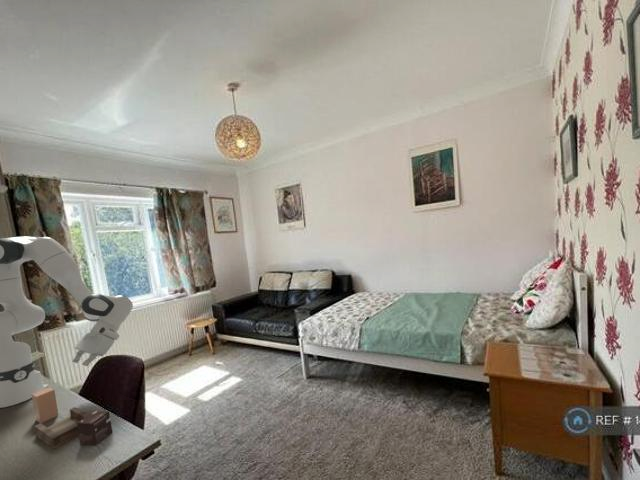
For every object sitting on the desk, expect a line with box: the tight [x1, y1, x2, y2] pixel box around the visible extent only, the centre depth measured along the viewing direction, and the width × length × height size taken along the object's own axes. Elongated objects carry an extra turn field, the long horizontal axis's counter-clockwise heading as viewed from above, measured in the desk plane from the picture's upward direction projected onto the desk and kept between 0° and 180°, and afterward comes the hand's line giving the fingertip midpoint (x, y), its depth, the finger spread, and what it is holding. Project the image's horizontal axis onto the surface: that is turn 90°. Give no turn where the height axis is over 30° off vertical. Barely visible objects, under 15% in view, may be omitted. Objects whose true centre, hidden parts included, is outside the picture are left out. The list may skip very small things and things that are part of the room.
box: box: [77, 410, 113, 447], centre depth 93 cm, size 6×6×7 cm
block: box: [31, 386, 59, 424], centre depth 109 cm, size 5×5×10 cm
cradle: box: [34, 406, 91, 450], centre depth 99 cm, size 16×11×4 cm
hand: (79, 364), depth 119 cm, fingers open, 8 cm apart
